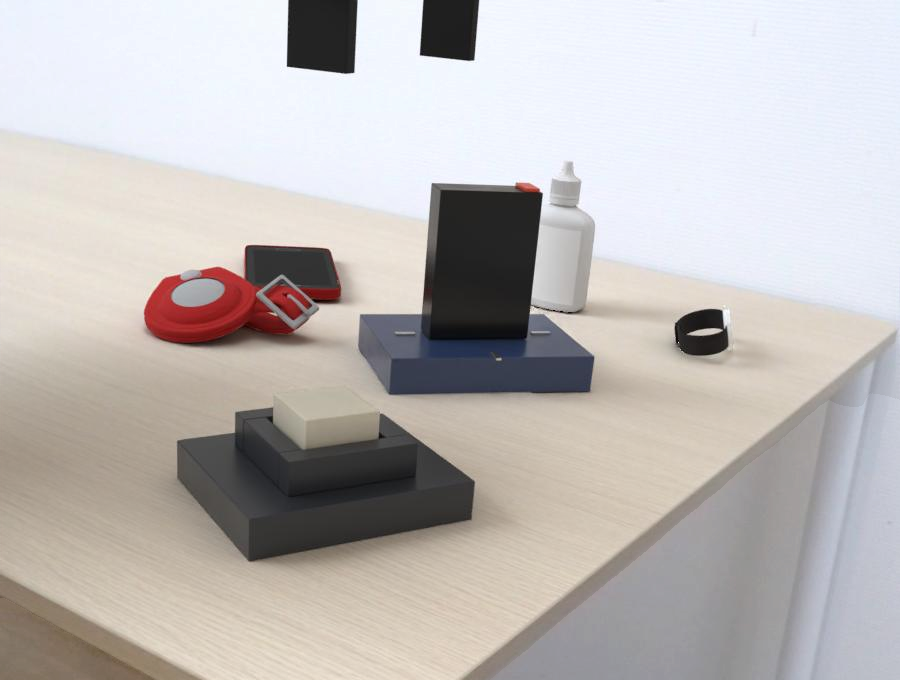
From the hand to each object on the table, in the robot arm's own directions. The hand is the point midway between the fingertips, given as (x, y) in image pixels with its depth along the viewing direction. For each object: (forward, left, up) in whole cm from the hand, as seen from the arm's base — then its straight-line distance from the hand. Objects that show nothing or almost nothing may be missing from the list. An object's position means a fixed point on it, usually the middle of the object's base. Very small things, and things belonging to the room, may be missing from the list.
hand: (390, 64), depth 54 cm
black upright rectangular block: (+12, +19, -19) cm, 29 cm away
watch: (+32, +23, -22) cm, 45 cm away
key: (-2, -1, -18) cm, 18 cm away
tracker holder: (-4, +28, -22) cm, 36 cm away
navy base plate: (+12, +19, -21) cm, 31 cm away
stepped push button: (-2, -1, -21) cm, 22 cm away
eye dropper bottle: (+24, +35, -22) cm, 48 cm away
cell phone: (+3, +43, -22) cm, 48 cm away
